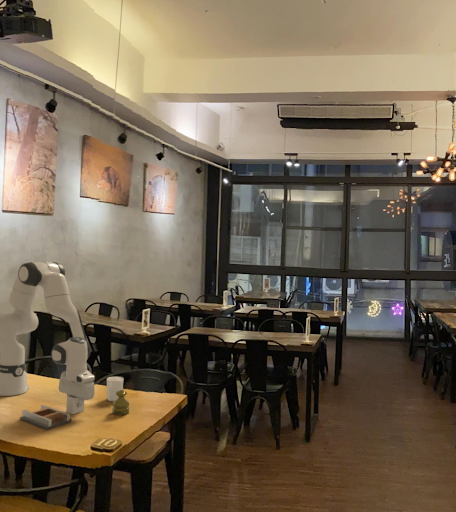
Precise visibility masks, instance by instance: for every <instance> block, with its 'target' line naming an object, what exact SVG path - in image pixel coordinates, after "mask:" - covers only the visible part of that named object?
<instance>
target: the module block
mask: <svg viewBox="0 0 456 512" xmlns="http://www.w3.org/2000/svg"><path fill="white" fill-rule="evenodd" d="M79 401H80V400H79V398H78V397H75V396H72V395H70V396H67V395H66V409H65V411H66V412H65V413H68V414H70V415H76V414H78V413H82V412H85V401H84V402H83V406H82V407H81V408H79V407H77V403H79Z"/></svg>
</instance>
